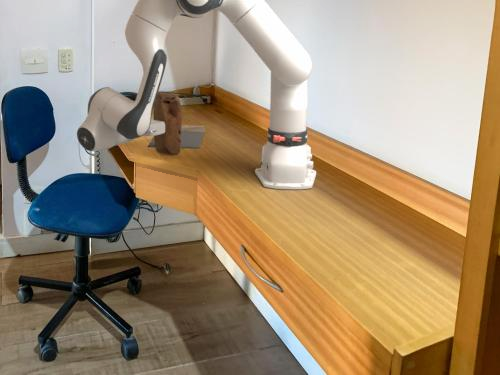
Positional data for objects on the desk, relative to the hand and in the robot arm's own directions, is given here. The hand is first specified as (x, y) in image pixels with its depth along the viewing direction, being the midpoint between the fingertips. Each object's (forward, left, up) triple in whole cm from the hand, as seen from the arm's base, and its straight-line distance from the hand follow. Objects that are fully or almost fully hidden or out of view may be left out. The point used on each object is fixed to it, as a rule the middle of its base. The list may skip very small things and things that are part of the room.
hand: (149, 120), depth 193 cm
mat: (+27, -6, -13) cm, 30 cm away
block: (+9, -5, -13) cm, 17 cm away
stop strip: (+40, -6, -13) cm, 42 cm away
